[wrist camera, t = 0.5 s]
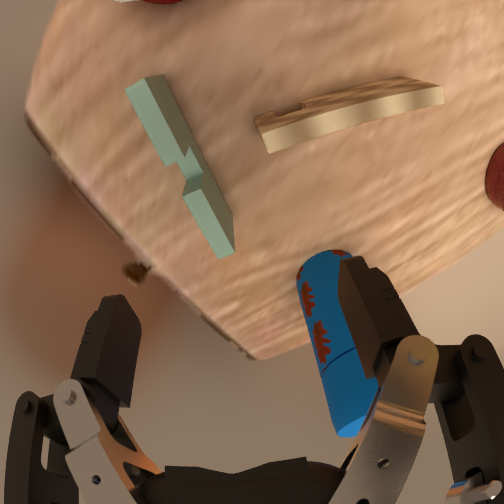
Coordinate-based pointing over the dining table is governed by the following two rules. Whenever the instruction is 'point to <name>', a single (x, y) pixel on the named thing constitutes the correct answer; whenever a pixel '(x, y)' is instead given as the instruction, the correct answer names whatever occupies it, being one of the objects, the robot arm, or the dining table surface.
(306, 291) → the thermos
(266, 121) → the brass bar
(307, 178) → the dining table surface
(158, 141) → the sage green notched block
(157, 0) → the plastic cup
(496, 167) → the canister
